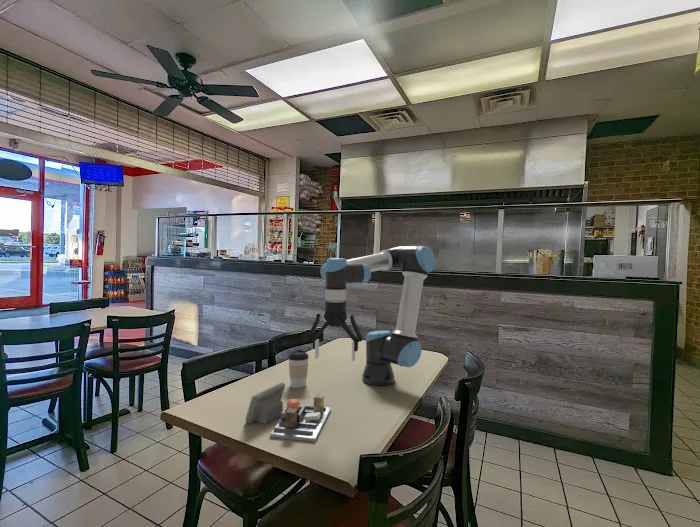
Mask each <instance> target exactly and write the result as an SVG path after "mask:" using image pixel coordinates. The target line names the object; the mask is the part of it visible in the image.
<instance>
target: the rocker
mask: <svg viewBox="0 0 700 527" xmlns="http://www.w3.org/2000/svg"><path fill="white" fill-rule="evenodd" d="M320 416H321V413H320V412H314V413H307V414H306V415H305V417H304V419H305V420H317V419H319V418H320Z"/></svg>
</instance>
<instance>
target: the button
mask: <svg viewBox="0 0 700 527" xmlns="http://www.w3.org/2000/svg"><path fill="white" fill-rule="evenodd" d="M300 403H301V401H300V399H299V398H289V399H287V401H286V406H287V409H288V408H294V409H297V412H298V411H299V410H300V405H301V404H300Z"/></svg>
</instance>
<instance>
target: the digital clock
mask: <svg viewBox="0 0 700 527" xmlns="http://www.w3.org/2000/svg"><path fill="white" fill-rule="evenodd" d="M285 388H286V383H285V382H278V383H276V384H274V385H271V386H270V387H268V388H266V389H263V390H261V391H258V392H257V393H255V394H254V395H252V397H251V400H250V402H249V404H248V405H249V406H248V408H247V413H246V415H245V423H246V424H252V423H255V422H258V423H261V424H264V425H267V424H268V423H270V422H272V421H274V420H275V419H277V418H278V417H281V412H282V411H283V410H284V407H283V406H284V405H283V401H282V398H283V394H284V391H285Z"/></svg>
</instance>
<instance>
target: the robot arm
mask: <svg viewBox="0 0 700 527" xmlns="http://www.w3.org/2000/svg"><path fill="white" fill-rule="evenodd" d="M435 266H436V257H435V253H434V252H433V250H432V248H430V247H429V246H426V245H408V246H407V245H399V246H396V247H392V248H388V249H383V250H380V251H379V252H378V253H374V254H369V255H364V256H360V257H356V258H355V257H354V258H350V259H346V258H341V257H340V258H338V257H337V258H336V257H335V258H334V257H333V258H331V257H330V258H328V259H326V262H325V263H323V264H322V265H321V267H320V276H321V278H322V279H323V280H325V298H324V299H325V300H326V301H325V302H324V308H325V310H324V311H325V312H324V313H321V312H318V313H316V316H315V321H314V322H313V324H312V326H311V328H310V330H309V333H308V334H307V339H310V340H311V341H312V347H311V348H312V350H314V359H315V360H317V359H318V358H319V356H320V339H319V336H320V335H321V334H322V333H323V332H324V331H325V329H326V328H328V327H329V326H330V327H331V328H332V327H336V328H340V327H341V328H342V329H343V330H344V331H345V332H346V334H347V335H348V336H349V338H351V340H352V343H351V362H354V361H356V360H355V359H356V352H358V350H359V343H360V342H362V341H363V339H364V336H363V335H362V331H361V330H360V328H359V325H358V323H357V321H356V316H355V314H354V313H352V314H347V309H346V308H347V301H346V300H347V284H363V283H364V284H365V283H367V282H368V281H370V280H371V278H372V272H377V271H381V270H382V271H389V270H390V271H392V270H394V271H401V273H402V275H403V277H404V280H403V284H402V290H401V296H400V303H399V307H398V308H399V309H398V314H397V321H396V326H395V329H394V330H393V331H392V332H391V330H375V331H373V330H372V331H370V332H368V333H367V334H366V339H365V340H366V341H365V343H366V344H365V347H366V348H365V350H366V351H365V352H366V353H365V356H366V357H365V359H366V360H365V366H364V369H363V372H362V375H361V376H362V378H361V380H362V382H363V383H365V384H367V385H369V386H374V387H375V386H376V387H385V386H390V385H393V383H395V373H394V370H393V367H392V364H394V365H398V366H399V367H404V368H412V367H414V366H415V365H416V364H417V363H418V362H419V360H420V358H421V355H422V345H421V343H420V342H419V341H418V340H419V337H418V335H417V334H416V330H417V324H418V322H417V321H418V316H419V311H420V304H421V297H422V292H423V285H424V281H425V279H427V278H428V275H429V273H430V272H432V271H433V270H434V269H435ZM323 318H324V320H325V323H324V324H323V325H322V326H321V327H320V329H319V330H318V331H317V332H316V333H315V331H316V330H317V327H318V326H319V324H320V322H321V320H323ZM347 319H348V321H349V322H350V323H351V326H352V328H353V330H354V332H355V333H354V332H353V330H352V328H350V327H349V325H348V324H347V322H346V321H347ZM314 333H315V334H314Z"/></svg>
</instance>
